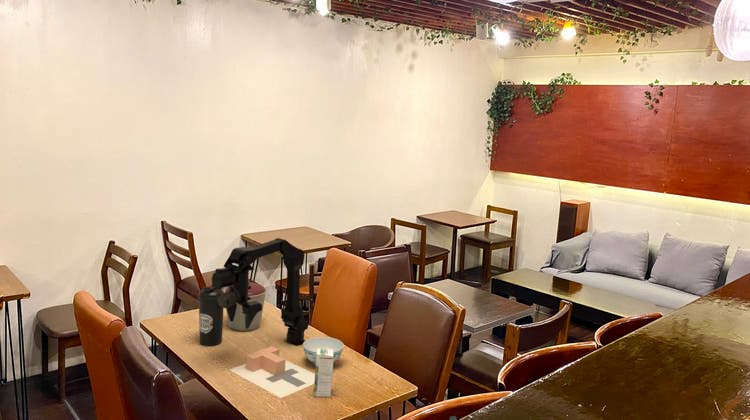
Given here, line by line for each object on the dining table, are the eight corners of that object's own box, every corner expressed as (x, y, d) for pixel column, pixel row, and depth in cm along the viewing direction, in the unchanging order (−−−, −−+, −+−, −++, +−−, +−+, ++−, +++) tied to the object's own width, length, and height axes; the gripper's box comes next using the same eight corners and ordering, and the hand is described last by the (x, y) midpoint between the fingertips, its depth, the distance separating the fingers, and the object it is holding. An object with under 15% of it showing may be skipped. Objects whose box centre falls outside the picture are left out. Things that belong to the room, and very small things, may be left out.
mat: (272, 355, 215) (273, 354, 215) (324, 380, 198) (325, 378, 197) (228, 371, 200) (228, 369, 200) (280, 399, 182) (280, 397, 182)
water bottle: (191, 343, 221) (192, 287, 217) (208, 335, 230) (209, 280, 227) (213, 349, 217) (214, 291, 214) (229, 340, 227) (230, 285, 223)
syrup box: (314, 388, 191) (316, 348, 189) (331, 389, 191) (333, 348, 189) (313, 396, 185) (315, 355, 183) (331, 397, 186) (333, 355, 184)
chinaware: (293, 364, 209) (294, 344, 208) (321, 352, 221) (322, 333, 220) (323, 377, 200) (324, 356, 199) (350, 364, 212) (352, 344, 211)
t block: (271, 358, 211) (272, 346, 210) (293, 369, 203) (294, 356, 203) (245, 368, 202) (246, 355, 201) (267, 379, 194) (267, 365, 193)
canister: (238, 316, 254) (239, 271, 250) (273, 323, 248) (275, 277, 244) (213, 329, 237) (214, 281, 234) (251, 337, 231) (252, 288, 228)
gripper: (205, 281, 203) (205, 322, 205) (237, 293, 191) (236, 337, 193) (231, 276, 211) (231, 316, 214) (263, 287, 199) (262, 329, 202)
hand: (239, 324), depth 205 cm, fingers open, 9 cm apart
